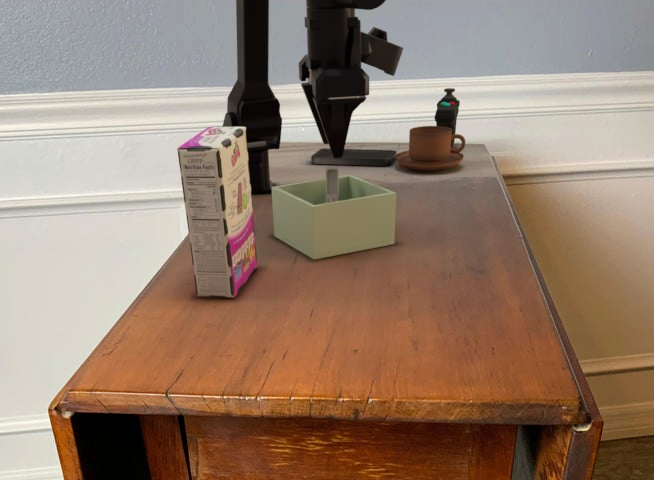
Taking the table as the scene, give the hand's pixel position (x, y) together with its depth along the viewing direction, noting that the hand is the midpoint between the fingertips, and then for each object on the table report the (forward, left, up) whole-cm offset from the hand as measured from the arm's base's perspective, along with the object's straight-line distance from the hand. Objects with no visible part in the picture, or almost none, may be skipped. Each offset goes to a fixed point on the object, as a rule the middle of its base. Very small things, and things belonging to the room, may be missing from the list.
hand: (332, 150), depth 102 cm
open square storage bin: (0, 0, -11) cm, 11 cm away
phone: (-48, +11, -11) cm, 51 cm away
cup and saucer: (-39, +23, -12) cm, 47 cm away
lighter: (-1, 0, -11) cm, 11 cm away
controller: (-53, +30, -12) cm, 62 cm away
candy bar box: (+14, -15, -12) cm, 24 cm away
